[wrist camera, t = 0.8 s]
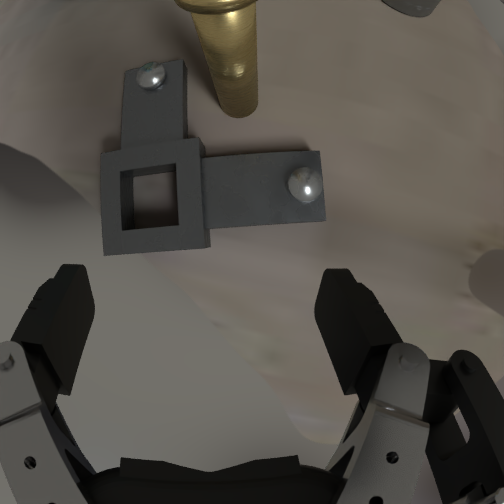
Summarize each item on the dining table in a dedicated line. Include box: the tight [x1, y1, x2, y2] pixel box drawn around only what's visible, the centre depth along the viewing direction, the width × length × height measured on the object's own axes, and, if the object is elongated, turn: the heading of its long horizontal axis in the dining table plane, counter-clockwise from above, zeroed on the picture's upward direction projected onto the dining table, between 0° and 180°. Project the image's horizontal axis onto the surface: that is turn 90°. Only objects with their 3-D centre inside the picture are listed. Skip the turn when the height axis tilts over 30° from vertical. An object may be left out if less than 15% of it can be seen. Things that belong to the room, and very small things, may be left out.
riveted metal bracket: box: [101, 59, 326, 256], centre depth 26 cm, size 18×19×3 cm
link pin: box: [174, 0, 258, 118], centre depth 18 cm, size 5×5×17 cm
